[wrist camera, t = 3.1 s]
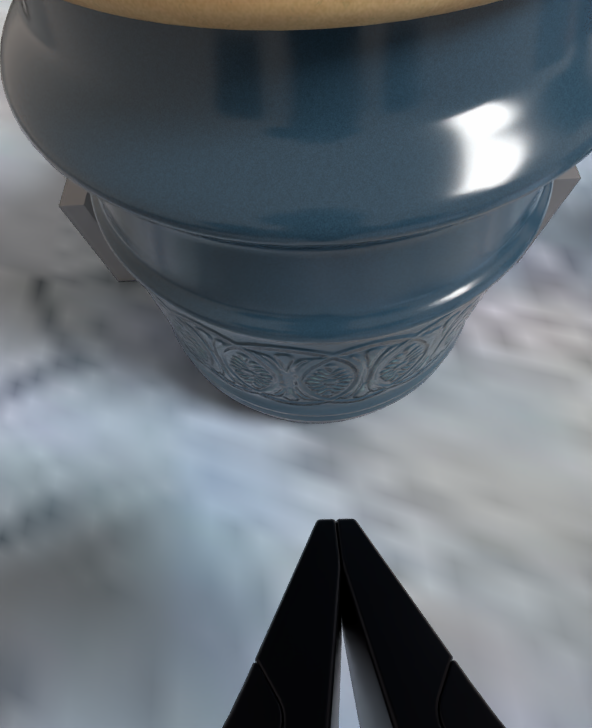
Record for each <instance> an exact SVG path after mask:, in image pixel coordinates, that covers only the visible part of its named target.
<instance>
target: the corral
mask: <svg viewBox="0 0 592 728" xmlns="http://www.w3.org/2000/svg"><path fill="white" fill-rule="evenodd" d="M580 179H581V177H580V175H579V172H578V170H577V167H576V165H575V166H574V167H572V168H571V169H570V170H568V171H567V172H566V173H564V174H563V175H561V176H559V177H558V178H556V179H555V180H554V182H553V188H552V194H551V198H550V202H549V206H548V209H547V212H546V214H545V217H544V219H543V222H542V224H541V226H540V228H539V230H538V232H537V234H536V236H535V237H534V239H533V241H532V242H531V244H532V243H533V242H534V240H535V239H536V238H537V236H538V235H539V234H540V232H541V231H542V230H543V228H544V227H545V226H546V224H547V223H548V222H549V220H550V219H551V218H552V216H553V215H554V214H555V212H556V211H557V210H558V208H559V207H560V205H561V204H562V203H563V201H564V200H565V199H566V197H567V196H568V195H569V193H570V192H571V191H572V189H573V188H574V187H575V185H576V184H577V183H578V181H579V180H580ZM59 207H60V208H61V210H62V211H63V212H64V213H65V215H66V216H67V217H68V218H69V220H70V221H71V222H72V223H73V225H74V226H75V227H76V228H77V230H78V231H79V232H80V234H81V235H82V236H83V237H84V239H85V240H86V241H87V242H88V244H89V245H90V246H91V247H92V249H93V250H94V251H95V252H96V254H97V255H98V256H99V257H100V259H101V260H102V261H103V263H104V264H105V265H106V266H107V268H108V269H109V270H110V271H111V273H112V274H113V275H114V276H115V278H116V279H117V280H118V281H134V280H136V279H135V278H134V277H133V276H132V275H131V274H130V273H129V272H128V271H127V270H126V269H125V268H124V267H123V265H122V264H121V263H120V261H119V260H118V259H117V257H116V256H115V255H114V253H113V252H112V250H111V249H110V247H109V245H108V244H107V242H106V240H105V239H104V236H103V234H102V232H101V230H100V228H99V226H98V223H97V220H96V217H95V214H94V211H93V206H92V201H91V196H90V193H88V192H86V191H85V190H83V189H82V188H81V187H79V186H78V185H76V184H75V183H73V182H72V181H70V180H69V179H67V180H66V183H65V187H64V190H63V194H62V197H61V201H60V204H59ZM531 244H530V245H529V247H530V246H531ZM529 247H528V248H529ZM528 248H527V250H528ZM527 250H526V251H527ZM526 251H525V252H526ZM524 254H525V253H524ZM524 254H523V255H524ZM523 255H522V256H523ZM522 256H521V258H522ZM521 258H520V259H521ZM520 259H519V260H520ZM519 260H518V261H517V262H516V263H518V262H519Z"/></svg>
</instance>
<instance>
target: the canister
mask: <svg viewBox="0 0 592 728" xmlns="http://www.w3.org/2000/svg"><path fill="white" fill-rule="evenodd" d="M0 72H1V80H2V84H3V88H4V92H5V95H6V98H7V101H8V103H9V106H10V108H11V111H12V113H13V116H14V118H15V119H16V121H17V123H18V125H19V126H20V128H21V130H22V131H23V133H24V134H25V135H26V137H27V138H28V139H29V141H30V142H31V143H32V145H33V146H34V147H35V148H36V149H37V150H38V152H39V153H40V154H41V155H42V156H43V157H44V158H45V159H46V160H47V161H48V162H49V163H50V164H51V165H52V166H53V167H54V168H55V169H57V170H58V171H59V172H60V173H61V174H63V175H64V176H65V177H66V178H67V179H69V180H70V181H72V182H73V183H75V184H76V185H78V186H79V187H81V188H82V189H83V190H85V191H86V192H88V193H90V196H91V201H92V206H93V211H94V214H95V217H96V220H97V223H98V226H99V228H100V230H101V232H102V234H103V236H104V239H105V240H106V242H107V244H108V245H109V247H110V249H111V250H112V252H113V253H114V255H115V256H116V257H117V259H118V260H119V261H120V263H121V264H122V265H123V267H124V268H125V269H126V270H127V271H128V272H129V273H130V274H131V275H132V276H133V277H134V278H135V279H136V280H137V281H138V282H139V283H140V284H141V285H143V286H144V287H145V288H146V289H147V291H148V292H149V294H150V295H151V296H152V298H153V299H154V301H155V302H156V303H157V305H158V306H159V308H160V309H161V311H162V312H163V313H164V315H165V316H166V318H167V319H168V321H169V322H170V323H171V325H172V328H173V331H174V333H175V335H176V337H177V340H178V342H179V344H180V345H181V347H182V348H183V350H184V352H185V353H186V354H187V356H188V357H189V358H190V360H191V361H192V362H193V364H194V365H195V366H196V368H197V369H198V370H199V371H200V372H201V373H202V375H203V376H204V377H205V378H206V379H207V380H208V381H209V382H211V383H212V384H213V385H214V386H215V387H216V388H218V389H219V390H220V391H221V392H223V393H224V394H226V395H227V396H229V397H230V398H232V399H233V400H235V401H237V402H239V403H241V404H243V405H244V406H247V407H249V408H251V409H253V410H256V411H258V412H261V413H263V414H266V415H269V416H272V417H275V418H279V419H283V420H288V421H293V422H302V423H332V422H339V421H345V420H350V419H354V418H358V417H361V416H364V415H367V414H370V413H372V412H375V411H377V410H380V409H382V408H384V407H386V406H389V405H391V404H393V403H395V402H396V401H398V400H400V399H402V398H403V397H405V396H406V395H408V394H409V393H411V392H412V391H414V390H415V389H416V388H417V387H419V386H420V385H421V384H422V383H423V382H425V381H426V380H427V379H428V378H429V377H430V376H431V375H432V374H433V373H434V371H435V370H436V369H437V368H438V367H439V365H440V364H441V363H442V361H443V360H444V359H445V358H446V357H447V355H448V354H449V352H450V351H451V349H452V348H453V347H454V345H455V343H456V341H457V340H458V338H459V336H460V334H461V331H462V329H463V327H464V324H465V321H466V319H467V318H468V317H469V315H470V314H471V312H472V311H473V310H474V308H475V307H476V305H477V304H478V302H479V301H480V300H481V298H482V297H483V295H484V294H485V293H486V291H487V290H488V289H489V288H490V287H491V286H493V285H494V284H495V283H496V282H498V281H499V280H500V279H501V278H502V277H503V276H504V275H505V274H506V273H507V272H508V271H509V270H510V269H511V268H512V267H513V266H514V265H515V263H516V262H517V261H518V260H519V259H520V258H521V256H522V255H523V254H524V253H525V251H526V250H527V248H528V247H529V245H530V244H531V242H532V241H533V239H534V237H535V236H536V234H537V232H538V230H539V228H540V226H541V224H542V222H543V219H544V217H545V214H546V212H547V209H548V206H549V202H550V198H551V194H552V188H553V182H554V180H555V179H556V178H558V177H559V176H561V175H563V174H564V173H566V172H567V171H568V170H570V169H571V168H572V167H574V166H575V165H576V164H578V163H579V162H580V161H582V160H583V159H584V158H586V157H587V156H588V155H589V154H590V153H591V152H592V0H13V1H12V3H11V5H10V8H9V11H8V14H7V17H6V20H5V23H4V26H3V31H2V37H1V45H0Z"/></svg>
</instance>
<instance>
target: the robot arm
mask: <svg viewBox="0 0 592 728" xmlns="http://www.w3.org/2000/svg"><path fill="white" fill-rule="evenodd" d="M342 630H343V637H344V643H345V649H346V654H347V660H348V665H349V671H350V676H351V681H352V687H353V692H354V698H355V703H356V709H357V714H358V720H359V725H360V728H506V727H505V726H504V725H503V724H502V722H501V721H500V720H499V719H498V718H497V716H496V715H495V714H494V712H493V711H492V710H491V708H490V707H489V706H488V704H487V703H486V702H485V700H484V699H483V698H482V696H481V695H480V694H479V692H478V691H477V690H476V688H475V687H474V686H473V684H472V683H471V682H470V680H469V679H468V677H467V676H466V675H465V673H464V672H463V670H462V669H461V667H460V666H459V665H458V663H457V662H456V661H455V660H454V661H452V660H453V657H452V655H451V654H450V652H449V651H448V649H447V648H446V647H445V645H444V644H443V642H442V641H441V640H440V638H439V637H438V635H437V634H436V633H435V631H434V630H433V628H432V627H431V625H430V624H429V623H428V621H427V620H426V618H425V617H424V616H423V614H422V613H421V611H420V610H419V609H418V607H417V606H416V604H415V603H414V602H413V600H412V599H411V597H410V596H409V594H408V593H407V592H406V590H405V589H404V587H403V586H402V585H401V583H400V582H399V580H398V579H397V578H396V576H395V575H394V573H393V572H392V571H391V569H390V568H389V566H388V565H387V563H386V562H385V561H384V559H383V558H382V556H381V555H380V554H379V552H378V551H377V549H376V548H375V547H374V545H373V544H372V542H371V541H370V540H369V538H368V537H367V535H366V534H365V532H364V531H363V530H362V528H361V527H360V525H359V524H358V523H357V521H356V520H354V519H338V520H337V521H335V520H334V519H320V520H318V521H317V522H316V523H315V526H314V528H313V530H312V532H311V535H310V537H309V539H308V541H307V544H306V546H305V548H304V550H303V553H302V555H301V557H300V559H299V562H298V564H297V566H296V568H295V571H294V573H293V575H292V577H291V580H290V582H289V584H288V586H287V589H286V591H285V593H284V595H283V598H282V600H281V602H280V604H279V607H278V609H277V611H276V613H275V616H274V618H273V620H272V622H271V625H270V627H269V629H268V631H267V634H266V636H265V638H264V640H263V643H262V645H261V647H260V649H259V652H258V654H257V656H256V658H255V662H256V663H253V664H252V667H251V669H250V671H249V673H248V676H247V678H246V680H245V682H244V685H243V687H242V689H241V691H240V693H239V695H238V697H237V699H236V701H235V703H234V705H233V708H232V710H231V712H230V714H229V716H228V718H227V720H226V721H225V723H224V725H223V727H222V728H339V700H340V673H341V645H342Z"/></svg>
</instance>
